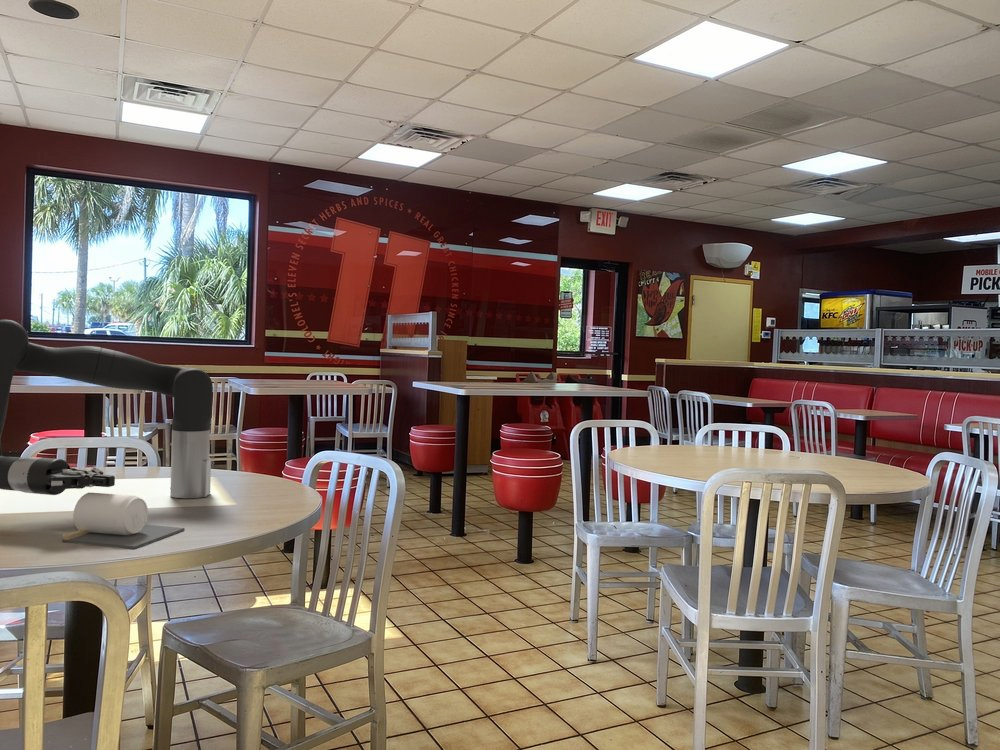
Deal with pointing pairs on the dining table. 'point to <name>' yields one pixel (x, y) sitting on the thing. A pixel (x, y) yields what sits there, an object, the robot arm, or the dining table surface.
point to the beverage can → (110, 513)
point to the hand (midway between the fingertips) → (112, 481)
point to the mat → (123, 537)
